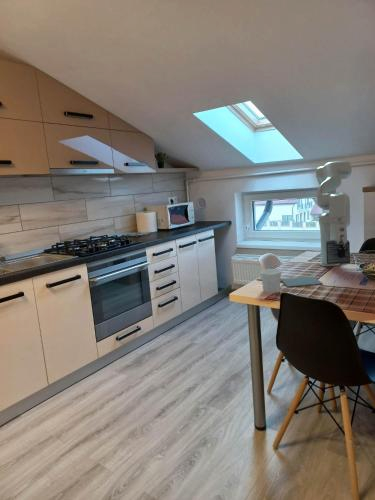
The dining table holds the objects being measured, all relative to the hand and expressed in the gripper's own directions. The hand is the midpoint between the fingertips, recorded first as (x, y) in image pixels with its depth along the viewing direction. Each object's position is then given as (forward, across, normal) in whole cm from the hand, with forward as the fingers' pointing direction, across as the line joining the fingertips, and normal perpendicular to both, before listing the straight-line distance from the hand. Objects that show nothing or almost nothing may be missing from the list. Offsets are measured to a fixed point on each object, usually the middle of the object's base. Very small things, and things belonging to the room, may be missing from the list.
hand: (337, 255), depth 182 cm
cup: (+16, +1, +33) cm, 37 cm away
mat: (+16, +11, +15) cm, 25 cm away
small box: (+4, 0, 0) cm, 4 cm away
